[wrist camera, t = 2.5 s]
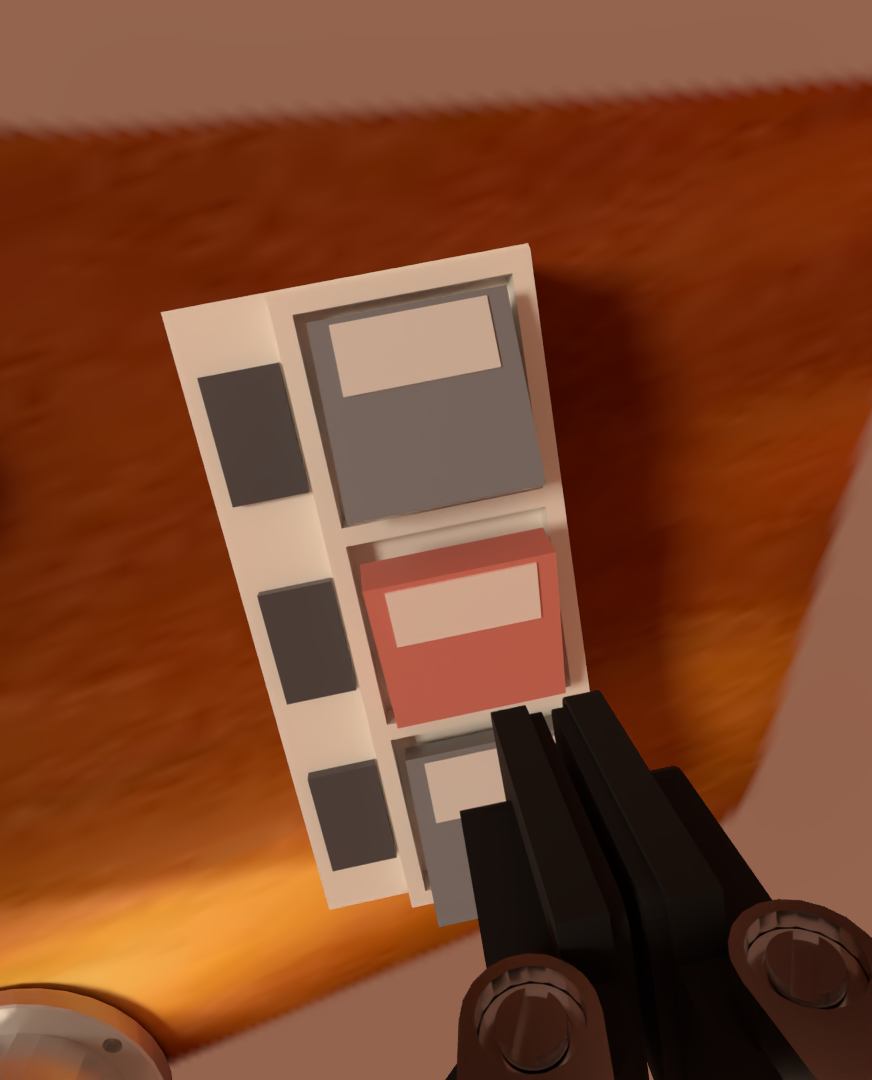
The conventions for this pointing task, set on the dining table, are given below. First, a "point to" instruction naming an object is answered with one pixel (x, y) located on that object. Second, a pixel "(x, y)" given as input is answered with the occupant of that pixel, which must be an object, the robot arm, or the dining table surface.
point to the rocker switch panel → (347, 551)
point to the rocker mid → (467, 626)
